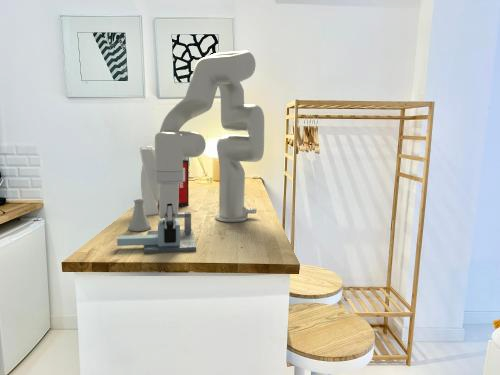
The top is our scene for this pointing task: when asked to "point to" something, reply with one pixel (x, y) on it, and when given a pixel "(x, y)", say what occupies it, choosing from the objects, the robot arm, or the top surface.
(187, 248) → the base
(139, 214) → the flask
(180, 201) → the cleaning product box
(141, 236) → the link
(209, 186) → the top surface
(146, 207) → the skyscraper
